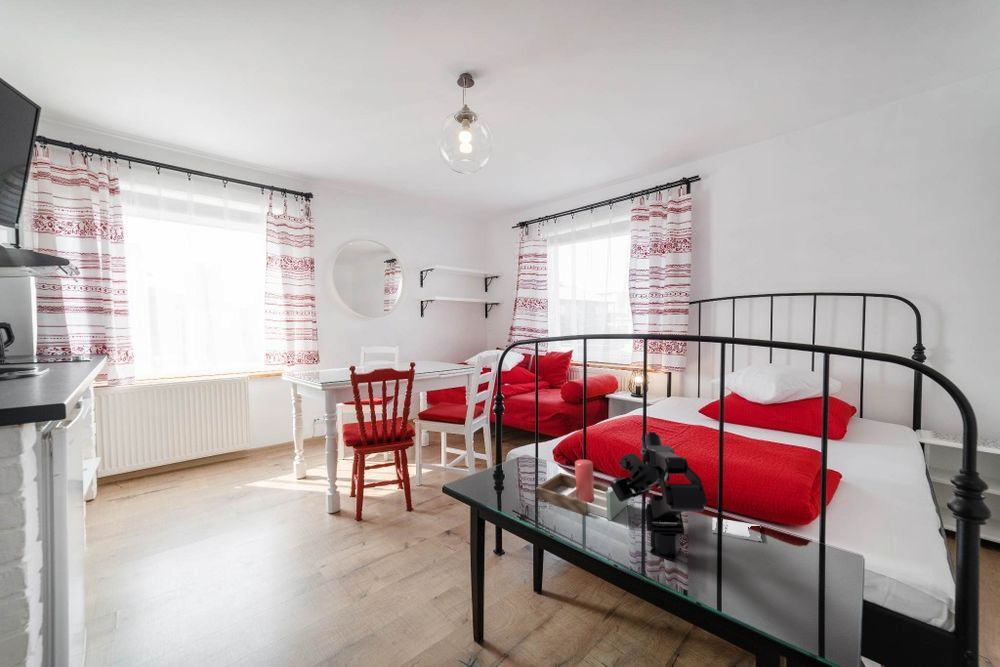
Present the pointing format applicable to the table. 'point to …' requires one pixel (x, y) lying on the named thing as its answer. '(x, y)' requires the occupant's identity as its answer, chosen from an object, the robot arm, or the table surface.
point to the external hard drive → (734, 527)
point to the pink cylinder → (584, 480)
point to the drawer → (562, 500)
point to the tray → (603, 503)
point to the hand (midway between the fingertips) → (625, 494)
